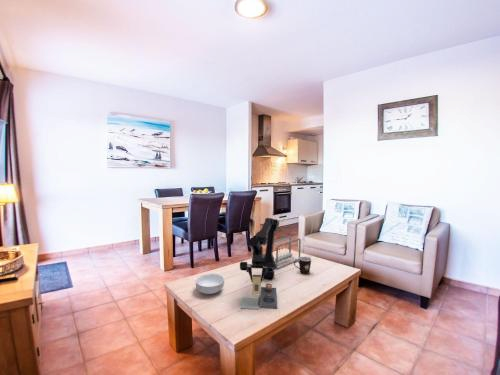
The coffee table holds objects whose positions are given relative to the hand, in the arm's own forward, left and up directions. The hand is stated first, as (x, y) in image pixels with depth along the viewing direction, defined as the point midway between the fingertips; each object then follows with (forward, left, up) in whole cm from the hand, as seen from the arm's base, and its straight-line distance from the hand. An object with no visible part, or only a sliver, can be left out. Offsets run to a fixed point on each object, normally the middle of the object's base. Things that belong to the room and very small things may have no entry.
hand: (256, 282), depth 132 cm
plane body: (+5, +8, -13) cm, 16 cm away
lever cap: (0, +1, -7) cm, 7 cm away
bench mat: (-4, 0, -13) cm, 13 cm away
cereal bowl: (-30, +4, -13) cm, 33 cm away
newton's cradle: (0, +65, -13) cm, 66 cm away
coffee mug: (+17, +52, -13) cm, 56 cm away
